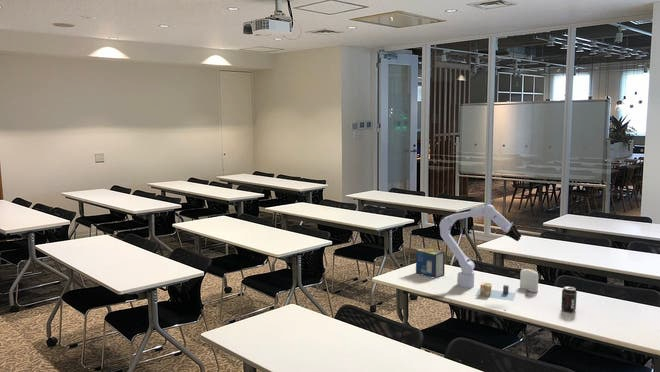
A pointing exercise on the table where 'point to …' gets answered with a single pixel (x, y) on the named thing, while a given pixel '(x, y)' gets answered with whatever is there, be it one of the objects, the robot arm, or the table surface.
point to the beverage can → (569, 299)
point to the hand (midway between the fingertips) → (519, 238)
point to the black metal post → (505, 289)
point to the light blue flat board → (499, 295)
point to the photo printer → (529, 280)
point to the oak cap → (485, 289)
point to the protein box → (430, 262)
